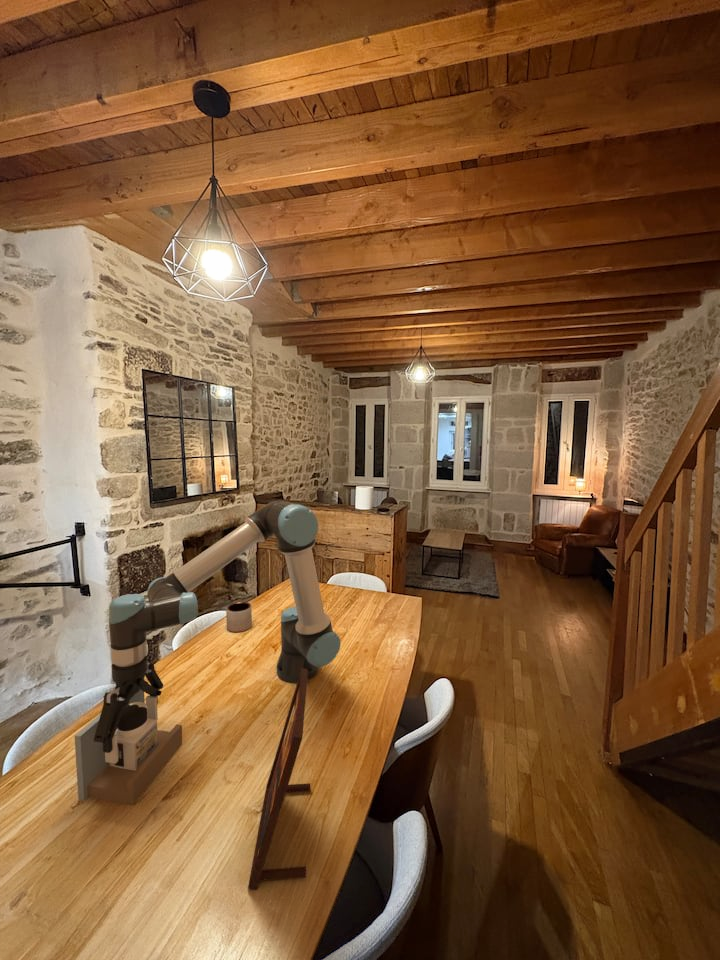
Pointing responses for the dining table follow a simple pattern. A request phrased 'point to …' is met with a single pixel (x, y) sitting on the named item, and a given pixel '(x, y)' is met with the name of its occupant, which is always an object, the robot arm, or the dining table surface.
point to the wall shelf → (118, 782)
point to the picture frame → (281, 788)
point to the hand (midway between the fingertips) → (133, 739)
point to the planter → (239, 616)
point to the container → (135, 737)
